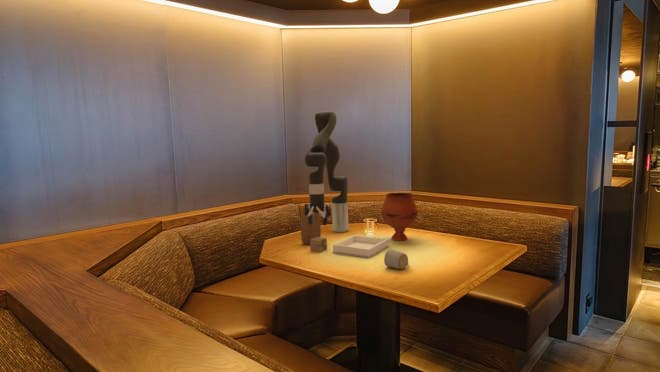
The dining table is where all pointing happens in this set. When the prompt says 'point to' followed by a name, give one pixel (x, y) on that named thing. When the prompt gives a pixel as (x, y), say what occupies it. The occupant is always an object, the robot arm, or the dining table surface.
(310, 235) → the block
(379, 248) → the tray
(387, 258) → the grey barrel
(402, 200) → the goblet
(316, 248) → the cube
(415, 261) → the dining table surface
